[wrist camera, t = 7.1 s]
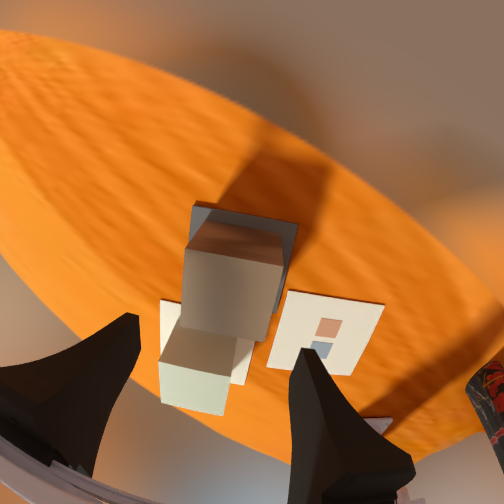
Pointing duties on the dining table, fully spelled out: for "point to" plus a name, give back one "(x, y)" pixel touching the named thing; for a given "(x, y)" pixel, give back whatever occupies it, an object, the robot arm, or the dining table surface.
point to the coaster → (251, 221)
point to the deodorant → (490, 404)
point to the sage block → (196, 369)
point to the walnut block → (231, 280)
